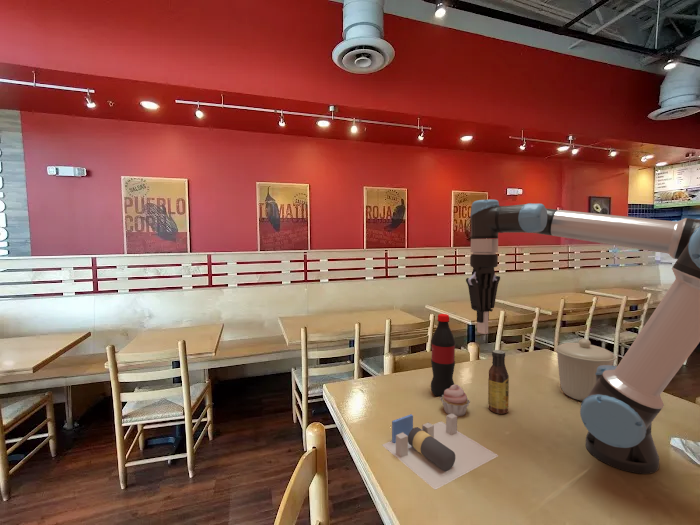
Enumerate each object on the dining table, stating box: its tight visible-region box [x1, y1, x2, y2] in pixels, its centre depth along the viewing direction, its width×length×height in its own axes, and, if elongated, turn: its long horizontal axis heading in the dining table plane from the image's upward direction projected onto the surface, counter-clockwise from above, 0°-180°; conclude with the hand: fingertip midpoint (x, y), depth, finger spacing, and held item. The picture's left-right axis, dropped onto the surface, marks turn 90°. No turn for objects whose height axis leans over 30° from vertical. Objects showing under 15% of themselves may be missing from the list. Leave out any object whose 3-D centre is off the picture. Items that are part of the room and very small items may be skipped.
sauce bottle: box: [487, 349, 510, 415], centre depth 113 cm, size 7×6×20 cm
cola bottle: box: [430, 313, 456, 398], centre depth 125 cm, size 8×8×30 cm
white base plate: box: [381, 413, 500, 491], centre depth 91 cm, size 20×23×7 cm
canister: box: [554, 338, 617, 402], centre depth 123 cm, size 18×18×21 cm
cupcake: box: [439, 383, 471, 417], centre depth 111 cm, size 9×9×10 cm
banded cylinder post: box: [408, 426, 455, 471], centre depth 88 cm, size 12×5×5 cm, turn 31°
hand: (482, 332), depth 101 cm, fingers closed
